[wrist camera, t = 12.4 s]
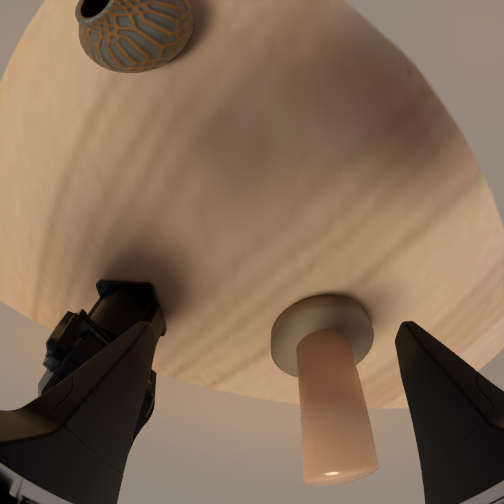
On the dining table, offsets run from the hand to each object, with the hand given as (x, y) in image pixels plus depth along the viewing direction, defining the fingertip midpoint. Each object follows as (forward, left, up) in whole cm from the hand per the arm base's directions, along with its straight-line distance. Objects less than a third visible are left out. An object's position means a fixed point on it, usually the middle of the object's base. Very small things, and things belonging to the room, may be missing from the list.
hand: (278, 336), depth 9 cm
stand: (+5, -13, -13) cm, 19 cm away
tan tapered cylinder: (+5, -13, -11) cm, 18 cm away
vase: (-8, +14, -13) cm, 21 cm away
